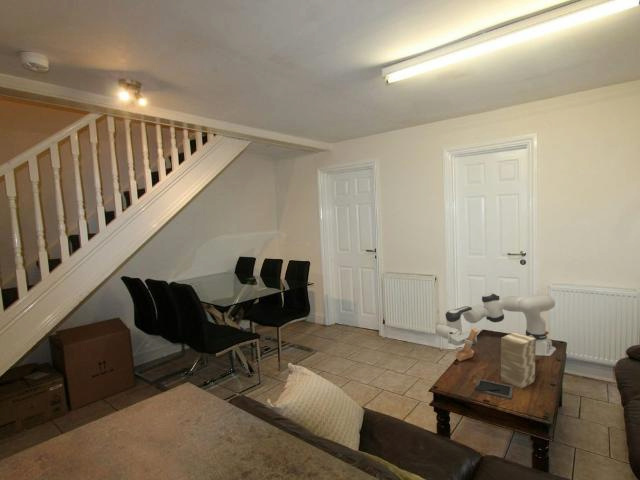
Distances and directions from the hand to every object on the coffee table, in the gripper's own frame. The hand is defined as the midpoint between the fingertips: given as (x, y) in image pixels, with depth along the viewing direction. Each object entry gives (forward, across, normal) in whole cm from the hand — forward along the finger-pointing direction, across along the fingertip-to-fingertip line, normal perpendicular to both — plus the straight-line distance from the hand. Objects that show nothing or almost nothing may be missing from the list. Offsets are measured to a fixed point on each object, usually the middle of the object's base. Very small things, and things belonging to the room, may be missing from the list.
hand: (474, 342), depth 225 cm
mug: (+29, -14, -15) cm, 35 cm away
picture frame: (+26, +19, -15) cm, 35 cm away
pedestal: (+28, 0, -14) cm, 31 cm away
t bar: (-5, 0, -2) cm, 6 cm away
